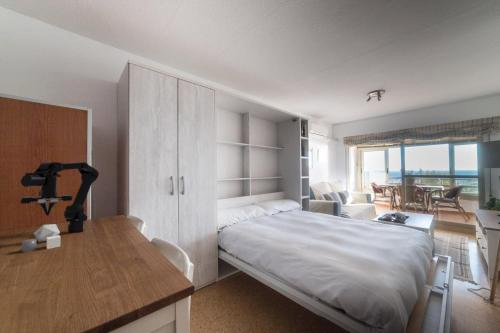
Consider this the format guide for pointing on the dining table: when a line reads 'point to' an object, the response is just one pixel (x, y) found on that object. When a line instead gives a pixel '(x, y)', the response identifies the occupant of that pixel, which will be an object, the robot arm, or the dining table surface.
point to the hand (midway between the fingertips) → (47, 215)
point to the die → (46, 232)
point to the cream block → (53, 242)
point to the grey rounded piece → (29, 245)
